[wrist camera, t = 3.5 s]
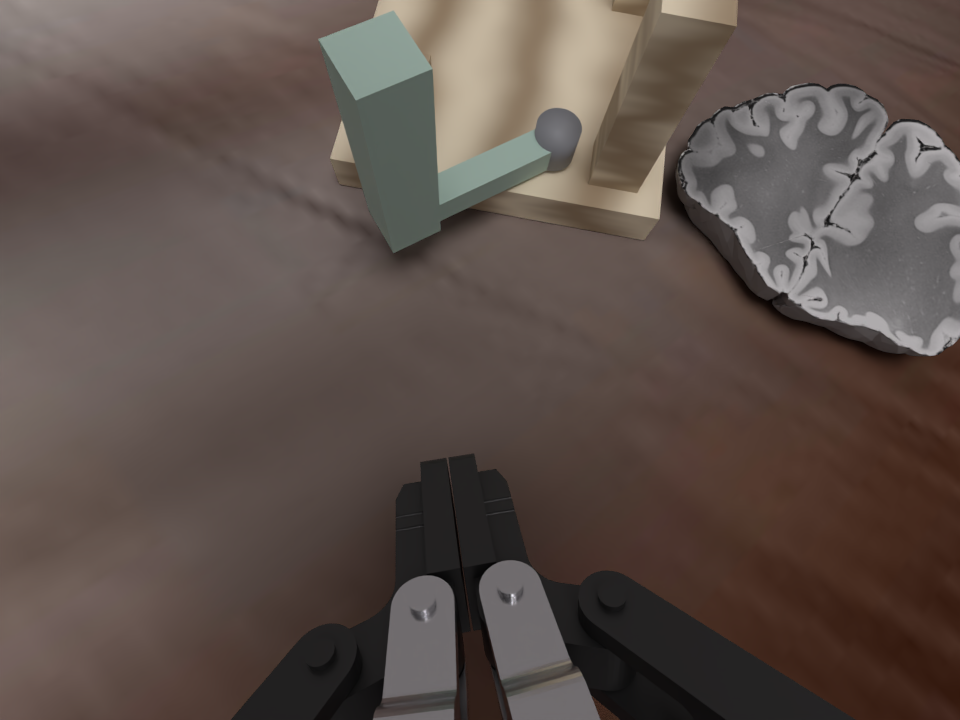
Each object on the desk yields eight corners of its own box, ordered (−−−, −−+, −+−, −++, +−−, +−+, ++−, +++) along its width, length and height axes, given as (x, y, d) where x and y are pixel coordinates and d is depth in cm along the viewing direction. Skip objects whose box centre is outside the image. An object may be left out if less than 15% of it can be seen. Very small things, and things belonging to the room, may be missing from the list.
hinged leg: (556, 126, 31) (611, -74, 20) (582, 163, 30) (653, -23, 19) (369, 212, 28) (318, 38, 18) (393, 253, 28) (355, 100, 17)
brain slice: (989, 214, 34) (1037, 188, 31) (892, 407, 30) (938, 397, 27) (744, 68, 37) (768, 32, 34) (622, 227, 32) (639, 201, 30)
